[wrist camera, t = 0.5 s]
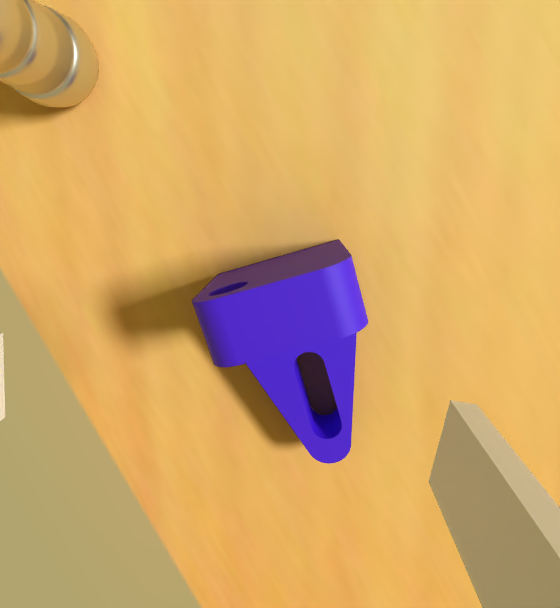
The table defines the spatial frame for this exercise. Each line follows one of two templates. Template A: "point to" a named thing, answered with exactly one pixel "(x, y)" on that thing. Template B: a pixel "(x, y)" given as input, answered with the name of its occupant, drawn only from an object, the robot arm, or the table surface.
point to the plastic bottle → (45, 54)
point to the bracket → (291, 334)
